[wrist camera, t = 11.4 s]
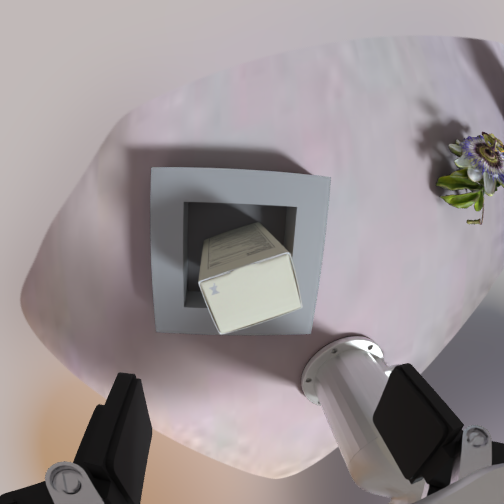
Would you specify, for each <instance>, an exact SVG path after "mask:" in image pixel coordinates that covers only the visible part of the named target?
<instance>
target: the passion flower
mask: <svg viewBox="0 0 504 504" xmlns="http://www.w3.org/2000/svg"><path fill="white" fill-rule="evenodd" d="M482 135H483V136H484V137H483V136H481V135H479V136H477V137H470V136H468V138H466V139H465V138H464V139H463V140H464V141H463V142H460V141H459V140H458V139H457V140H456V144H449V149H450V151H451V152H452V153H453V154H455V155H456V156H458V157H460V158H457V159H455V160H454V163H455V165H456V166H457V167H458V168H459V169H460V170H457V171H454V172H453V173H452V174H451V175H449V176H442V177H439V178H438V182H437V183H436V186H440V187H442V188H444V189H447V190H452V191H454V190H463V189H465V188H467V189H469V190H471V191H472V192H470V193H466V194H461V195H446V196H440V197H441V198H442V199H443V200H444V201H445V202H447V203H448V204H449V205H451V206H454V207H457V208H468V207H469V206H471V205H472V204H473V203H475V205H474V208H475V210H476V211H480V210H481V209H482V207H483V211H482V222H483V214H484V193H486V194H487V195H488V196H492V195H493V194H494V192H495V191H497V187H499V186H500V185H502V186H503V187H504V145H503V143H502V142H501V141H500V140H499V139H497V138H496V137H495V136H494V135H493V134H487V133H485V132H482ZM500 147H501V148H500ZM476 182H478V183H480V184H478V183H476ZM482 222H480V219H478V220H467V223H468V224H480V225H482Z"/></svg>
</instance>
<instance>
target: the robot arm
mask: <svg viewBox="0 0 504 504" xmlns="http://www.w3.org/2000/svg"><path fill="white" fill-rule="evenodd" d="M389 375H390V376H389ZM301 386H302V390H303V392H304V395H305V396H306V398H307V399H308V400H309V401H311V402H312V403H314V404H316V405H319V406H321V407H322V409H323V411H324V414H325V416H326V418H327V421H328V423H329V425H330V428H331V430H332V432H333V435H334V437H335V439H336V442H337V444H338V446H339V449H340V451H341V454H342V456H343V458H344V460H345V463H346V465H347V468H348V470H349V472H350V474H351V477H352V479H353V480H354V482H355V483H356V484H357V485H358V486H359V487H360V488H361V489H363V490H365V491H367V492H369V493H372V494H376V495H381V496H385V497H389V498H391V501H390V503H388V504H504V444H503V443H498V442H493V441H491V436H490V434H489V432H488V431H487V430H486V429H485V428H483V427H481V426H478V425H471V426H468V427H467V428H466V429H465V430H464V431H463V430H462V427H463V426H464V424H463V423H462V422H461V421H460V419H459V418H458V417H457V416H456V415H455V414H454V412H453V411H452V410H451V409H450V408H449V407H448V406H447V404H446V403H445V402H444V401H443V400H442V399H441V398H440V396H439V395H438V394H437V393H436V392H435V391H434V389H433V388H432V387H431V386H430V385H429V384H428V383H427V382H426V380H425V379H424V378H423V377H422V376H421V375H420V374H419V373H418V372H417V370H416V369H415V368H414V367H413V366H412V365H411V364H409V363H407V364H402V365H393V366H390V367H388V366H386V364H385V363H384V357H383V353H382V351H381V349H380V347H379V346H378V345H377V344H376V343H375V342H374V341H372V340H371V339H369V338H366V337H361V336H352V337H346V338H342V339H339V340H337V341H334V342H332V343H330V344H328V345H327V346H325V347H324V348H322V349H321V350H320V351H318V352H317V353H316V354H315V355H314V356H313V357H312V358H311V359H310V361H309V362H308V364H307V365H306V367H305V369H304V371H303V374H302V378H301ZM151 438H152V425H151V422H150V418H149V414H148V409H147V405H146V401H145V396H144V392H143V387H142V382H141V379H137V378H136V376H135V374H128V373H121V372H120V373H118V375H117V377H116V379H115V382H114V384H113V386H112V389H111V391H110V393H109V396H108V398H107V400H106V403H105V405H100V404H99V405H97V406H96V408H95V410H94V412H93V415H92V417H91V419H90V422H89V424H88V426H87V429H86V431H85V434H84V436H83V439H82V441H81V444H80V446H79V449H78V451H77V454H76V456H75V459H74V462H73V463H71V462H65V461H64V462H58V463H56V464H54V465H52V466H51V467H50V468H49V469H48V470H47V473H46V475H45V481H43V482H41V483H38V484H35V485H32V486H29V487H25V488H22V489H19V490H15V491H12V492H8V493H5V494H3V495H1V496H0V504H140V501H141V495H142V488H143V482H144V475H145V470H146V465H147V459H148V453H149V448H150V443H151Z"/></svg>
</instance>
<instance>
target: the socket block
mask: <svg viewBox="0 0 504 504" xmlns="http://www.w3.org/2000/svg"><path fill="white" fill-rule="evenodd" d="M330 183H331V177H326V176H317V175H308V174H298V173H287V172H275V171H261V170H246V169H226V168H195V167H151V193H150V241H151V270H152V288H153V302H154V315H155V326H156V332H162V333H179V334H202V335H295V334H311V330H312V325H313V319H314V313H315V307H316V301H317V294H318V287H319V281H320V274H321V266H322V259H323V251H324V243H325V234H326V225H327V216H328V206H329V195H330ZM257 222H259V223H261V224H262V225H263V226H264V227H265V228H266V229H267V230H268V231H269V232H270V233H271V234H272V235H273V236H274V237H275V238H276V239H277V240H278V241H279V242H280V243H281V244H282V245H283V246H284V247H285V248H286V249H287V250H288V252H289V253H290V254H291V257H292V260H293V264H294V268H295V272H296V277H297V281H298V286H299V290H300V295H301V300H302V305H303V307H302V308H301V309H298V310H295V311H293V312H290V313H288V314H285V315H283V316H280V317H277V318H274V319H272V320H269V321H266V322H263V323H260V324H257V325H254V326H251V327H248V328H244V329H241V330H238V331H234V332H230V333H226V334H219V332H218V330H217V328H216V326H215V324H214V322H213V320H212V317H211V315H210V313H209V310H208V308H207V305H206V303H205V300H204V298H203V295H202V292H201V289H200V287H199V284H198V280H199V272H200V265H201V258H202V250H203V243H204V240H206V239H208V238H211V237H214V236H216V235H219V234H222V233H225V232H228V231H231V230H234V229H237V228H240V227H243V226H247V225H250V224H253V223H257Z"/></svg>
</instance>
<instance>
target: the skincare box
mask: <svg viewBox="0 0 504 504" xmlns="http://www.w3.org/2000/svg"><path fill="white" fill-rule="evenodd" d="M198 284H199V287H200V289H201V292H202V295H203V298H204V300H205V303H206V305H207V308H208V310H209V313H210V315H211V317H212V320H213V322H214V324H215V326H216V328H217V330H218V332H219V334H226V333H230V332H234V331H238V330H241V329H244V328H248V327H251V326H254V325H257V324H260V323H263V322H266V321H269V320H272V319H274V318H277V317H280V316H283V315H285V314H288V313H290V312H293V311H295V310H298V309H301V308H302V307H303V305H302V300H301V295H300V290H299V286H298V281H297V277H296V272H295V268H294V264H293V260H292V257H291V254H290V253H289V252H288V250H287V249H286V248H285V247H284V246H283V245H282V244H281V243H280V242H279V241H278V240H277V239H276V238H275V237H274V236H273V235H272V234H271V233H270V232H269V231H268V230H267V229H266V228H265V227H264V226H263V225H262V224H261V223H259V222H257V223H253V224H250V225H247V226H243V227H240V228H237V229H234V230H231V231H228V232H225V233H222V234H219V235H216V236H214V237H211V238H208V239H206V240H204V243H203V250H202V258H201V265H200V272H199V280H198Z"/></svg>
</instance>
